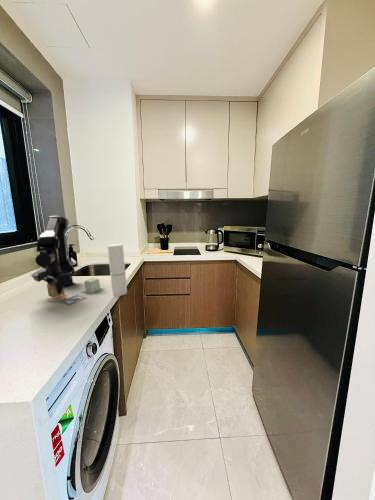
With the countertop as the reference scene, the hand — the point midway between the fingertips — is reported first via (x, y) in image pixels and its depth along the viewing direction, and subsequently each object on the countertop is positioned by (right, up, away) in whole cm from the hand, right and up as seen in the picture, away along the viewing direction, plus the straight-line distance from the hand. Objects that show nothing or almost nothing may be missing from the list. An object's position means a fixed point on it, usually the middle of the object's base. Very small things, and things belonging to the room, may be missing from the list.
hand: (56, 292), depth 100 cm
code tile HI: (+14, -1, +8) cm, 16 cm away
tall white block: (+30, -1, +4) cm, 30 cm away
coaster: (0, -3, 0) cm, 3 cm away
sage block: (+14, -1, +8) cm, 16 cm away
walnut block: (0, -1, 0) cm, 1 cm away
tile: (+10, -3, -3) cm, 11 cm away
